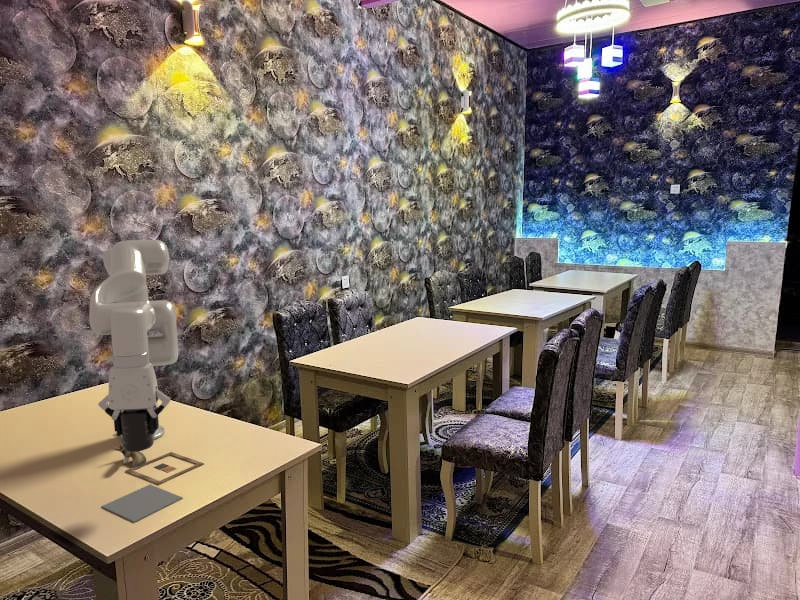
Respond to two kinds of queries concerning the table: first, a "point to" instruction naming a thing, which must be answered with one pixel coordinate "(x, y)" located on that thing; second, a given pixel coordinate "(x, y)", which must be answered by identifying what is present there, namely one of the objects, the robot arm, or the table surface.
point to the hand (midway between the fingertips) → (137, 432)
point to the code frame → (165, 468)
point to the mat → (142, 503)
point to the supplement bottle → (136, 430)
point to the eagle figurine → (136, 456)
